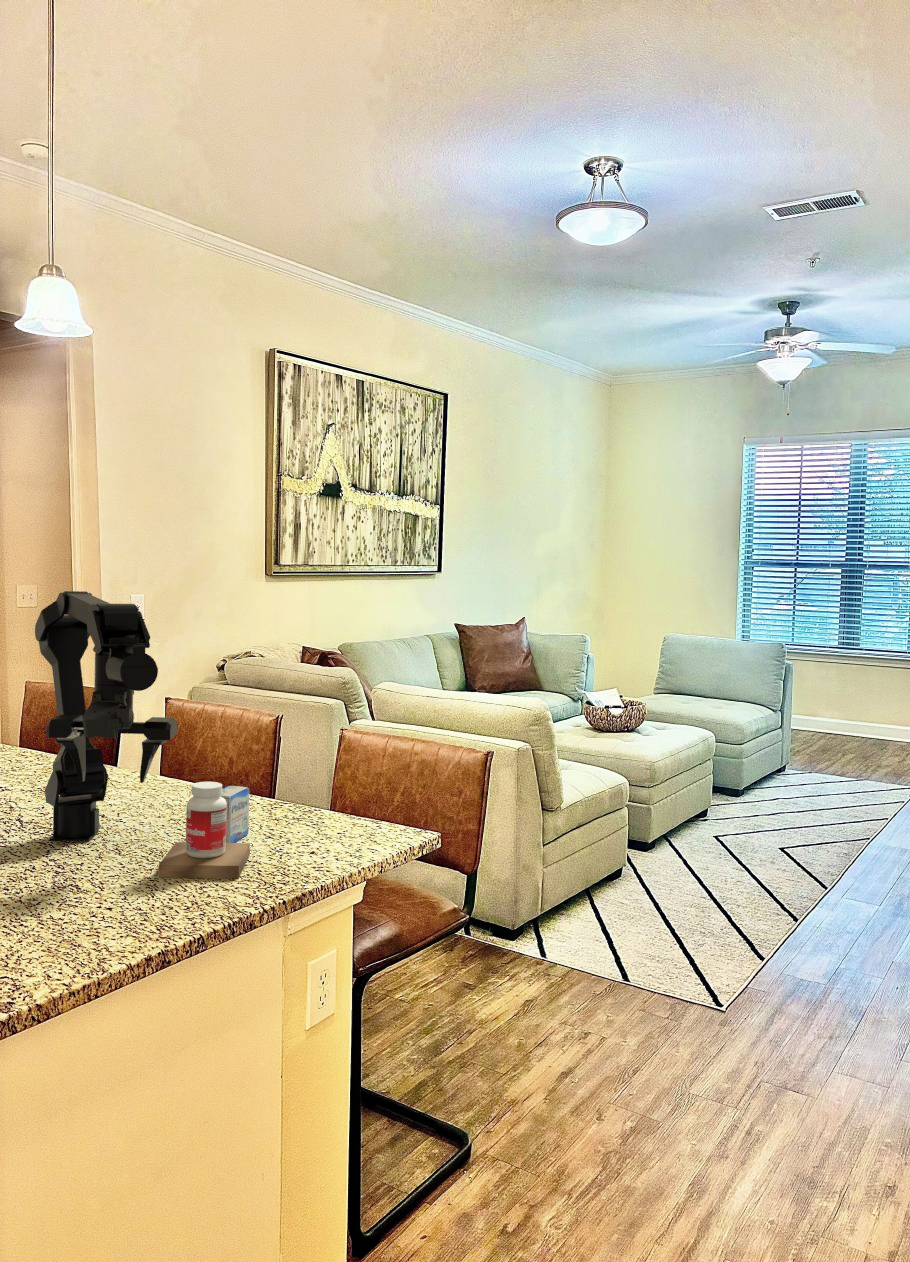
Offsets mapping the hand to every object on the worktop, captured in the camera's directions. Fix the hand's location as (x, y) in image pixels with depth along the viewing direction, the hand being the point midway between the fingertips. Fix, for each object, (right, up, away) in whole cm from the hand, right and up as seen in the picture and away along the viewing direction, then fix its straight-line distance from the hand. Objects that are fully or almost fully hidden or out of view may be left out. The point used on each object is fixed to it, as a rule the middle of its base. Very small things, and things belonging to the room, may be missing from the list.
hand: (112, 781), depth 149 cm
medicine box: (+14, -13, +16) cm, 25 cm away
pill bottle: (+14, -12, +1) cm, 19 cm away
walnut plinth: (+14, -14, +1) cm, 20 cm away
